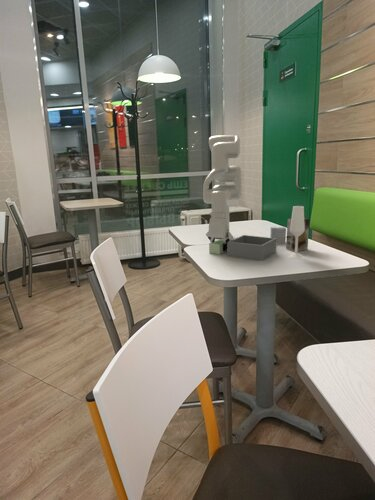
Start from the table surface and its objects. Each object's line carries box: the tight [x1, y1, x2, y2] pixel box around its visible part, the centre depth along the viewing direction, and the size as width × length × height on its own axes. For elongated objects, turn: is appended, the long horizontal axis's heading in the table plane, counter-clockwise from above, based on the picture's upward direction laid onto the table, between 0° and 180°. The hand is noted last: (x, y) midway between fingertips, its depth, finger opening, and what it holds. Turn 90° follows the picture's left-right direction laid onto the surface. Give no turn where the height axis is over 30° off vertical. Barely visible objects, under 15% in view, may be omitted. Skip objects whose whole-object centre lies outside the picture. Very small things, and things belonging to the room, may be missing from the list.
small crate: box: [208, 239, 228, 255], centre depth 183 cm, size 6×10×5 cm, turn 145°
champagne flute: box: [288, 205, 305, 259], centre depth 167 cm, size 7×7×24 cm
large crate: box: [227, 234, 277, 262], centre depth 176 cm, size 18×18×7 cm
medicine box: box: [269, 226, 287, 244], centre depth 198 cm, size 8×4×9 cm, turn 84°
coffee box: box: [285, 217, 310, 252], centre depth 182 cm, size 9×6×16 cm
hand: (219, 249), depth 183 cm, fingers closed on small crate, 6 cm apart
